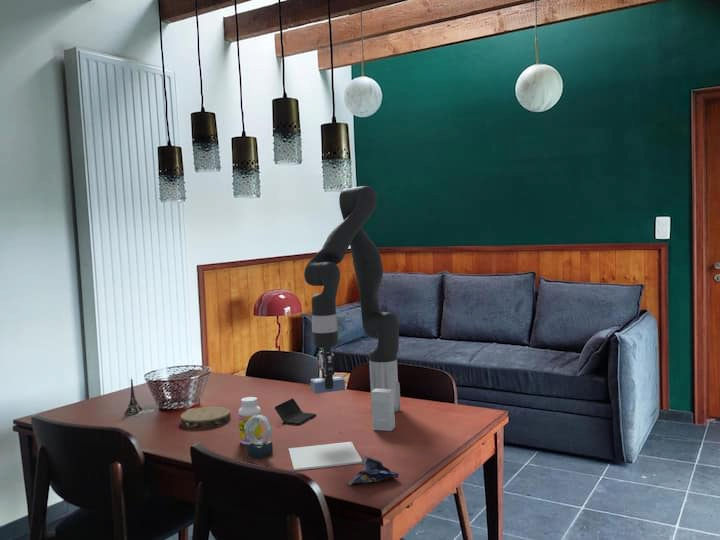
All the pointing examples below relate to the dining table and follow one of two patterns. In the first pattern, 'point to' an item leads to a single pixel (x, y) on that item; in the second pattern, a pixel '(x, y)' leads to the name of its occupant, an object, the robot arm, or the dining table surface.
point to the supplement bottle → (245, 413)
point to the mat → (324, 456)
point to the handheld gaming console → (292, 413)
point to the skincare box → (383, 409)
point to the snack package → (373, 472)
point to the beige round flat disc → (205, 417)
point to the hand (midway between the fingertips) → (327, 385)
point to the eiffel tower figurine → (135, 405)
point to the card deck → (319, 385)
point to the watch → (258, 446)
